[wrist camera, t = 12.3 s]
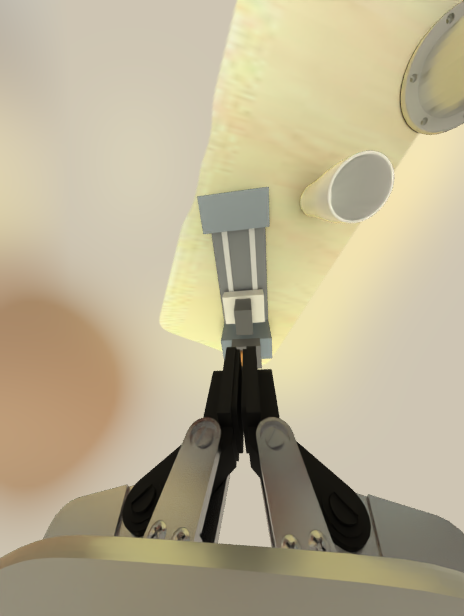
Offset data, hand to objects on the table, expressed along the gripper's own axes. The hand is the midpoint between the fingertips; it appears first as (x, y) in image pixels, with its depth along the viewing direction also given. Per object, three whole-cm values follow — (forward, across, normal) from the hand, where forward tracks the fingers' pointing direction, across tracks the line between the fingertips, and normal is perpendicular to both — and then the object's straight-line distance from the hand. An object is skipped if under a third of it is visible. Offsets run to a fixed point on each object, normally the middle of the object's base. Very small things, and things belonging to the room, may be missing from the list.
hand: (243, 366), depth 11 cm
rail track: (+31, +1, +4) cm, 31 cm away
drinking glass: (+31, -13, -9) cm, 35 cm away
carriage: (+28, +1, +9) cm, 29 cm away
